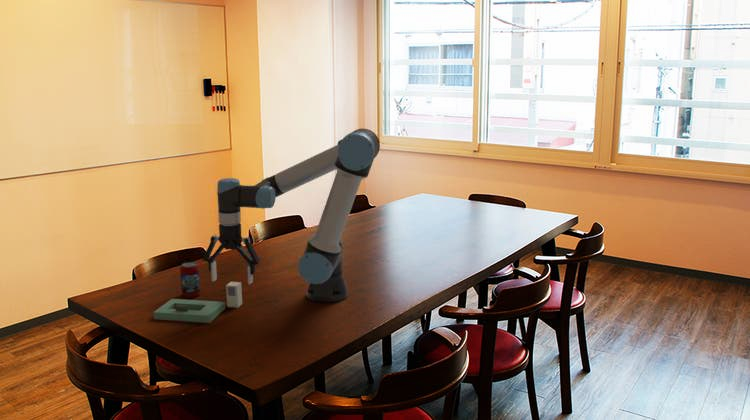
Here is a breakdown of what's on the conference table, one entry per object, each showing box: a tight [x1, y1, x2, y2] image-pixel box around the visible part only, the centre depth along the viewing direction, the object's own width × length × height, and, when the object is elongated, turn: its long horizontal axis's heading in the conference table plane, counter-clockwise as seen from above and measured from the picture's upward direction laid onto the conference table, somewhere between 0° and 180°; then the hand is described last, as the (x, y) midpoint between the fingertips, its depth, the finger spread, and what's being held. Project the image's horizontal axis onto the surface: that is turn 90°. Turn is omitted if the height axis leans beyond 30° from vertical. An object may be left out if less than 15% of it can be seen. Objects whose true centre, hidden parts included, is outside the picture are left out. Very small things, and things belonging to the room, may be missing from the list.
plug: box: [225, 281, 243, 309], centre depth 242 cm, size 4×4×8 cm
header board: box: [153, 298, 226, 324], centre depth 235 cm, size 20×13×4 cm, turn 79°
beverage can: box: [179, 261, 202, 298], centre depth 252 cm, size 7×7×12 cm
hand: (232, 281), depth 241 cm, fingers open, 13 cm apart
